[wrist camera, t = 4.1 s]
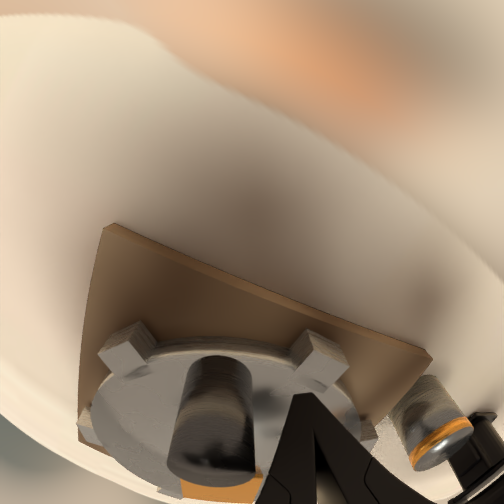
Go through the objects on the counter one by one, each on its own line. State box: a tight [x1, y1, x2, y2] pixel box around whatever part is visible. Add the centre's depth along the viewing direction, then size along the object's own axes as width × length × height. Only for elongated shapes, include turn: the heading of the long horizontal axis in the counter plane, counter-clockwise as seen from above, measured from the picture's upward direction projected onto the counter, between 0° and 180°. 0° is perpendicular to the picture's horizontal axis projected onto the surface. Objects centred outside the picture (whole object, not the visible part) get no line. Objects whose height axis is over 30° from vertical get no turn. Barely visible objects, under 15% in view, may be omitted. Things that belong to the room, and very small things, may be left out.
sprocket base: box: [78, 223, 433, 457], centre depth 14 cm, size 17×17×1 cm
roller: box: [388, 375, 474, 471], centre depth 12 cm, size 4×4×5 cm
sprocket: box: [76, 320, 378, 504], centre depth 10 cm, size 16×15×6 cm
